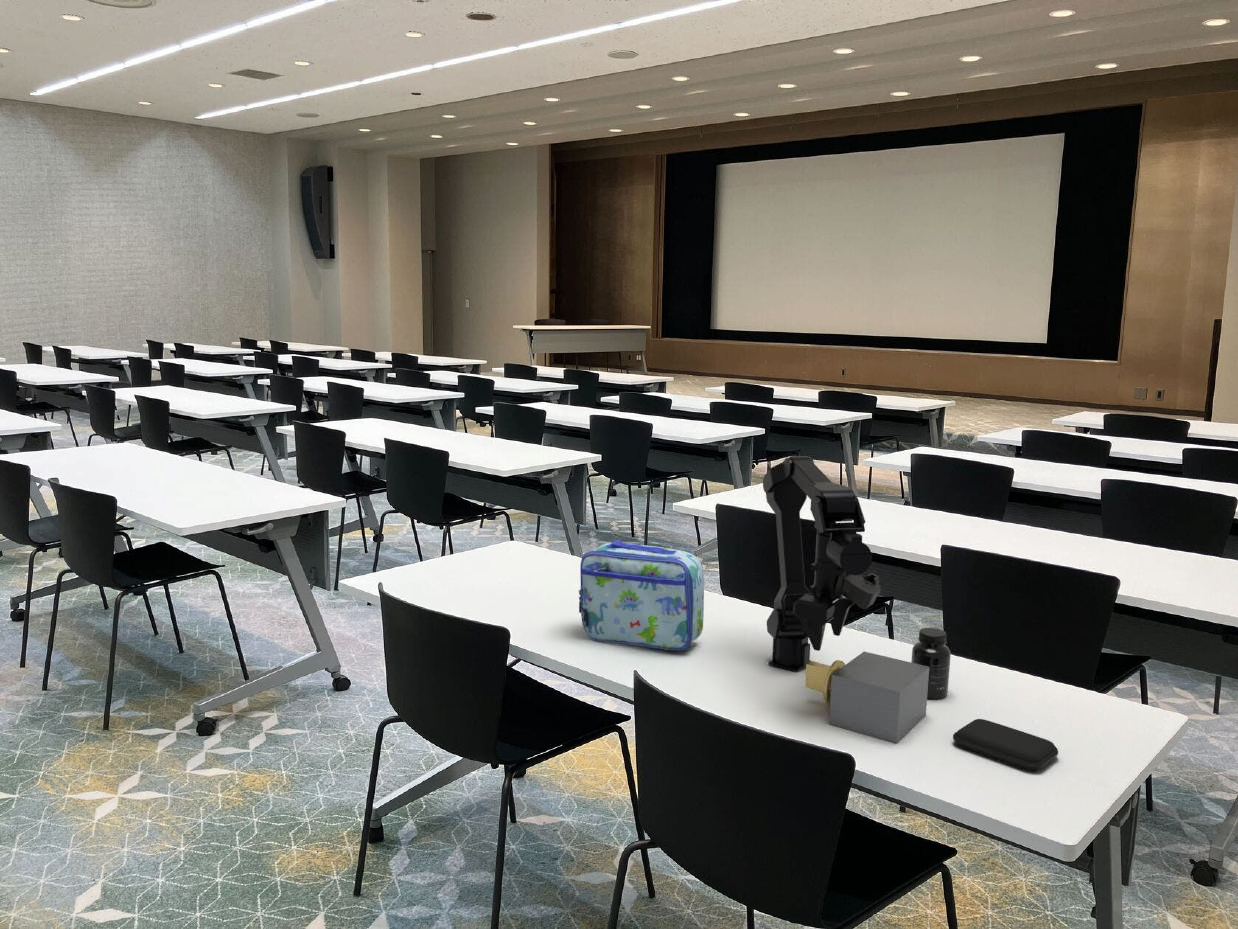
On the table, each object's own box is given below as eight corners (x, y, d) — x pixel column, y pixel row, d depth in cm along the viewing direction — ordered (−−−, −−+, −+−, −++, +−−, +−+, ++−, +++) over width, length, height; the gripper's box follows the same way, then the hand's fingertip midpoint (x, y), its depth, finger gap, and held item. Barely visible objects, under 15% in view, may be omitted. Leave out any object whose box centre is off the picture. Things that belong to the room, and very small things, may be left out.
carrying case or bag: (1064, 756, 159) (977, 728, 169) (1066, 739, 158) (978, 711, 169) (1036, 779, 152) (947, 747, 162) (1038, 760, 151) (948, 730, 161)
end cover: (796, 706, 176) (798, 661, 174) (817, 691, 182) (819, 648, 181) (852, 721, 169) (855, 675, 168) (871, 705, 176) (874, 661, 175)
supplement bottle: (901, 688, 185) (905, 627, 183) (931, 683, 187) (935, 623, 185) (924, 702, 179) (929, 639, 176) (955, 697, 181) (960, 635, 179)
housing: (829, 724, 169) (831, 674, 167) (861, 698, 180) (864, 651, 179) (896, 743, 162) (900, 692, 160) (925, 715, 173) (929, 666, 172)
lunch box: (573, 639, 208) (573, 544, 205) (595, 624, 218) (596, 532, 214) (688, 660, 198) (690, 559, 194) (706, 643, 207) (709, 547, 204)
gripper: (856, 579, 162) (850, 669, 165) (894, 554, 177) (888, 637, 180) (793, 567, 168) (789, 654, 171) (835, 545, 183) (830, 624, 186)
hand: (827, 642), depth 177 cm, fingers open, 9 cm apart
